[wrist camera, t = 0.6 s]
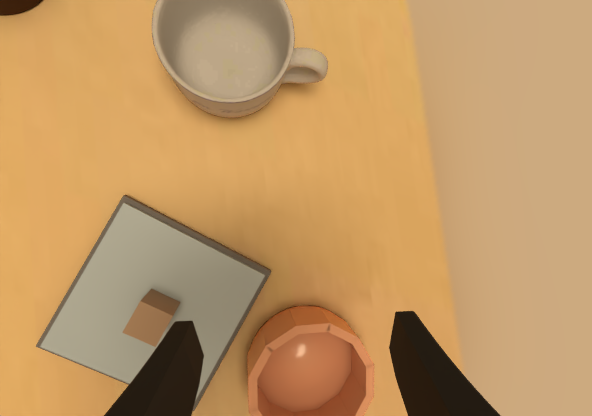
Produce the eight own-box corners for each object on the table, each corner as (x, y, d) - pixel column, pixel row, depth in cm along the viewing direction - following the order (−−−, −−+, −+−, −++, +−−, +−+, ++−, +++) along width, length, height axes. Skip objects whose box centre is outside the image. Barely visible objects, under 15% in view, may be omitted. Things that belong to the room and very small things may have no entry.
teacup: (156, 96, 31) (127, 64, 23) (197, -7, 31) (183, -74, 23) (288, 153, 33) (303, 141, 26) (326, 57, 34) (352, 17, 26)
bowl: (322, 429, 36) (336, 467, 31) (226, 387, 34) (224, 421, 29) (374, 333, 36) (395, 356, 31) (282, 286, 34) (289, 302, 29)
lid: (191, 404, 32) (184, 435, 28) (43, 343, 30) (12, 367, 26) (264, 273, 33) (268, 285, 29) (125, 202, 30) (108, 204, 26)
